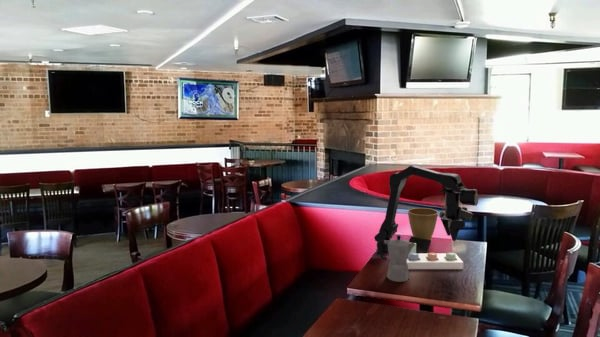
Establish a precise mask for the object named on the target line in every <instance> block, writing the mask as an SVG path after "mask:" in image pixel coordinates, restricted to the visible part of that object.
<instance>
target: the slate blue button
mask: <svg viewBox="0 0 600 337" xmlns="http://www.w3.org/2000/svg"><path fill="white" fill-rule="evenodd" d="M412 260H419V254H418V253H410V254H409V261H412Z"/></svg>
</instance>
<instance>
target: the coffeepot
mask: <svg viewBox="0 0 600 337" xmlns="http://www.w3.org/2000/svg"><path fill="white" fill-rule="evenodd" d="M382 244H383V245H387V246H388V253H389V254H388V258H389V260H390V261H389V263H388V267H387V268H388V269H387V273H386V277H387V279H388V280H389V281H392V282H397V283H401V282H402V283H403V282H407V281H409V280H410V277H411V276H410V271H409V270H410V269H408V264H407V259H408V255H409V252H410V251H411V249H412V248H413V247H414V246H415V244H414V243H411V242H409V241H408V240H405V239H401V235H400V234H399V235H396V239H390V241H389V240H380V241H379V242H378V243H377V242H376V249H377V248H378V251H379V256H380V259H381V260H383V261H386V260H387V257H385V256H384V254H383V252H382V247H381V245H382ZM408 279H409V280H408Z"/></svg>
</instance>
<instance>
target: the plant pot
mask: <svg viewBox="0 0 600 337" xmlns="http://www.w3.org/2000/svg"><path fill="white" fill-rule="evenodd" d="M407 215H408V221H409V225H410V226H409V227H410V232H411V234H412V237H417V238H422V239H427V240H431V239H432V237H433V235H434V232H435V228H436V225H437V221H438V215H439V212H438V210H436V209H433V208H429V207H428V208H427V207H414V208H410V209H408V210H407ZM431 241H432V240H431Z"/></svg>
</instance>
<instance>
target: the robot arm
mask: <svg viewBox="0 0 600 337" xmlns="http://www.w3.org/2000/svg"><path fill="white" fill-rule="evenodd" d="M412 176H417V177H419V178H422V179H427V180H430V181H434V182H436V183H438V184H440V185H441V186H443V188H442V190H440V193H442V194H443V193H444V194H445V199H444V200H445V202H444V204H443V207H444V210H441V211H439V214H438V215H439V218H440V221H441V223H442V225H443V228H444V231H445V233H446V235H447V236H450V237H451V240H452V241H453V242H456V240H457V237H458V234H459V232H460V230H462V229H464V228H466V222H465V221H464V220H463V219H465V220H467V221H471V220H472V218H473V215H474V213H472V212H471V211H470V210H468V208H467V207H465V206H464V205H466V206H475V207H477V205H478V204H479V195H478V194H479V193H478V189H475V188H473V189H469V188H467V187H466V186H465V184H464V183H463V181H462V178H461V176H460V175H459V174H458V173H452V172H451V173H450V172H440V171H436V170H432V169H428V168H425V167H422V166H419V165H416V164H412V165H409V166H408V167H406V168H404V169H403V170H401V171H397V172H394V173H392V174H390V176H389V177H388V178H389V179H388V183H389V184H388V187H389V191H390V192H389V197H388V201H387V206H386V212H385V218H384V220H383V221H382V224H380V227H379V230H378V233H377V234H375V236H374V237H373V238H374V241H375V242H376V244H377V243H378V242H379V241H380V240H389V241H390V240H392V238H393V237H394V236H395V235H396V233H397V232H398V227H399V224H398V223H396V215H397V210H398V206H399V201H400V197H401V192H402V190H403V188H404V187H405V184H406V181H407V180H408V178H411V177H412ZM460 203H461V204H462V205H463V206H462V207H461V206H460ZM462 218H463V219H462ZM381 247H382V252H383V255H389V253H388V246H387V245H383V244H382V245H381ZM375 252H376V254H377V253H378V254H379V251H378V248H377V247H376V249H375ZM378 254H377V255H378ZM379 255H380V254H379Z"/></svg>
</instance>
